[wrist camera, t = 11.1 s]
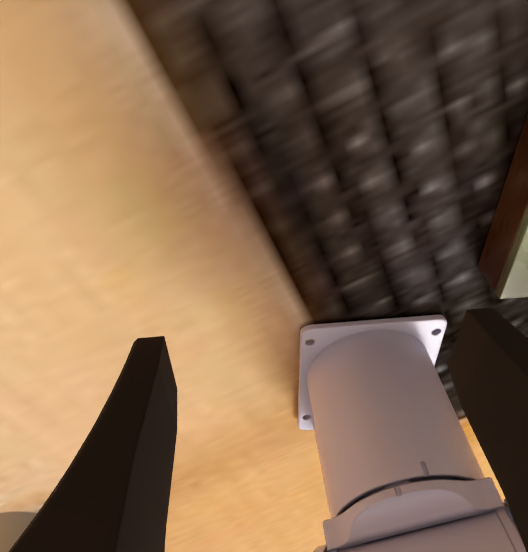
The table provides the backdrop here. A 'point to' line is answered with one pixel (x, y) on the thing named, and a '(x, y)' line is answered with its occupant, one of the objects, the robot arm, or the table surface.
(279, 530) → the table surface
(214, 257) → the table surface
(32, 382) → the table surface
